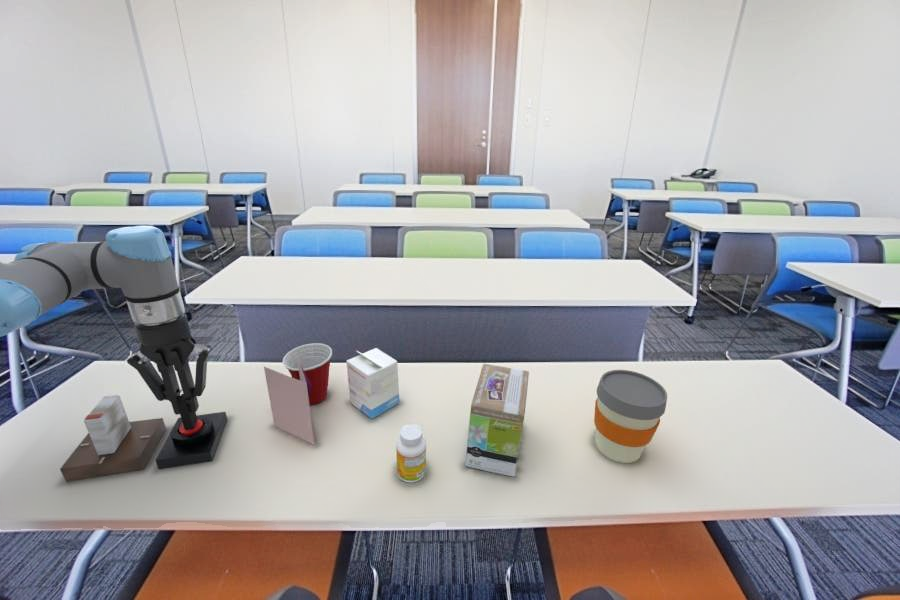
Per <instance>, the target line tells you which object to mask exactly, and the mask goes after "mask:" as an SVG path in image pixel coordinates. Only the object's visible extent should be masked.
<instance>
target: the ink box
mask: <svg viewBox="0 0 900 600" xmlns="http://www.w3.org/2000/svg"><path fill="white" fill-rule="evenodd" d="M356 353H357V355H356V356H353V357H351V358H349V359H346V371H347V382H348V392H349V393H348V394H349V402H350V404H351V405H352V406H354V407H355V408H356V409H358V410H359V411H361V412H362V413H363V414H364V415H366V416H367V417H368V418H369V419H371V420H374V419H375V418H377V417H378V416H380V415H381V414H383V413H385V412H386V411H388V410H390V409H392V408H393V407H395V406H396V405H398V404H399V403H400V392H399V391H400V389H399V369H398V366H399V365H398V360H396V359H395V358H393V357H392V356H391V355H389V354H387V353H385V352H384V351H382V350H380V349H379V348H378V347H374V348H372V349H370V350H367V351H365V352H363V353H362V352H360V351H359V350H356Z"/></svg>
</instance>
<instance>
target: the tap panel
mask: <svg viewBox="0 0 900 600" xmlns="http://www.w3.org/2000/svg"><path fill="white" fill-rule="evenodd" d="M129 423H130V426H131V429H130V430H129V432H128V433H127V435H126V436H125V438H124V439H123V440H122V442H121V443H120V445H119V446H118V448H117V449H116V451H115V452H114V453H112V454H105V455H98V454H97V451H96V449H95V447H94V444H93V442H92V440H91V437H90V435H89V432H88V433H87V434H86V435H85V437H84V438H83V439H82V441H81V442H79V444H78V446H77V447H76V448H75V449H74V451H73V452H72V453H71V454H70V456H69V457H68V458H67V459H66V460H65V462H64V463H63V464H62V466H60V468H59V470H60V472H61V474H62V477H63V478H64V481H65V482H71V481H78V480H84V479H91V478H97V477H105V476H110V475H111V476H112V475H118V474H123V473H130V472H138V471H143V470H145V468H146V467H147V465H148V463H149V461H150V460H151V458H152V456H153V454H154V452H155V451H156V449H157V447H158V445H159V444H160V441H161V439H162V438H163V436H164V434H165V432H166V431H167V427H166V424H165V420H164V418H163V417H158V418H150V419H142V420H135V421H130V420H129Z"/></svg>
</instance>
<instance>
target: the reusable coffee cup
mask: <svg viewBox="0 0 900 600" xmlns="http://www.w3.org/2000/svg"><path fill="white" fill-rule="evenodd" d="M596 387H597V388H596V396H597V397H596V398H595V399H596V400H595V404H594V418H593V419H594V420H593V422H594V426H595V437H594V442H595V443H594V444H595V446H596V449H598V451H599V452H600V453H601V454H603V456H605V457H606V458H608V459H609V460H612V461H614V462H618V463H623V464H632V463H635V462H636V461H637V462H638V460H639V459H640V457H641V455H642V454H643V452H644V451H645V447H646V446H647V445H648V444H650V442H651V441H652V440H653V437H654V436H655V434H656V432H657V429H658V427H659V426H660V423H661V417H662V416H663V415H664V414H665V412H666V408H667V402H668V393H667V391H666V389H665V388H664V386H662V384H661V383H659V382H658V381H657V380H655V379H653V378H651V377H650V376H647V375H646V374H643V373H640V372H637V371H632V370H627V369H612V370H609V371H606V372H604V373H603V374H602V375H601V377H600V379H599V382H598V384H597V386H596Z"/></svg>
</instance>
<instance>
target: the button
mask: <svg viewBox="0 0 900 600" xmlns="http://www.w3.org/2000/svg"><path fill="white" fill-rule="evenodd" d="M203 427H204V425H203V422H202V420H200V419H198V420H197V422H196V424H195V427H194V429H189V430H185V429H184V426H183V424H182V425H181V426H180V428H179V431H180V434H181V435H191V434H193V433H196V432H198V431H199V430H201V429H202V428H203Z"/></svg>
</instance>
